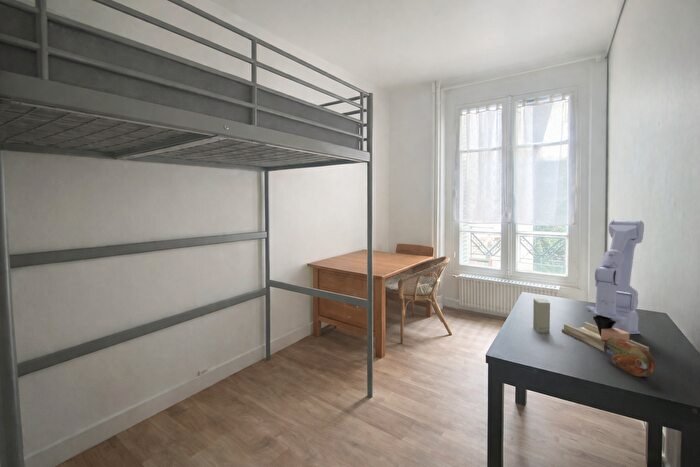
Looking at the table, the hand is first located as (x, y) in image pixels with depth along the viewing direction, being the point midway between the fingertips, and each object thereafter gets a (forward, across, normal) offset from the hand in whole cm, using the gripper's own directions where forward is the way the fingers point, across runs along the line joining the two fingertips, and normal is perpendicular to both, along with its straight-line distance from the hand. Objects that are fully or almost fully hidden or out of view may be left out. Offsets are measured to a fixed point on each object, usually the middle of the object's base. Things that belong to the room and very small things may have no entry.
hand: (603, 336), depth 122 cm
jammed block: (+1, +4, 0) cm, 4 cm away
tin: (+3, +18, -10) cm, 20 cm away
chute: (+2, 0, 0) cm, 2 cm away
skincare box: (+3, -16, -13) cm, 20 cm away
